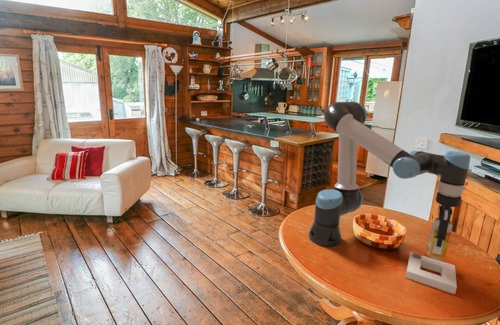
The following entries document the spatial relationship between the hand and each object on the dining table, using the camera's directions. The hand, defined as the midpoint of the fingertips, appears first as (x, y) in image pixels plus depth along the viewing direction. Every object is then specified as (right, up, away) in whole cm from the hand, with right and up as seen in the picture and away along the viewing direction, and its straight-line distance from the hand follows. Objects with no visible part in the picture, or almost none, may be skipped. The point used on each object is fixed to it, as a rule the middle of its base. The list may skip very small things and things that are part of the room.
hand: (436, 249), depth 111 cm
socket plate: (-1, -11, +3) cm, 12 cm away
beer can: (0, -3, +1) cm, 3 cm away
